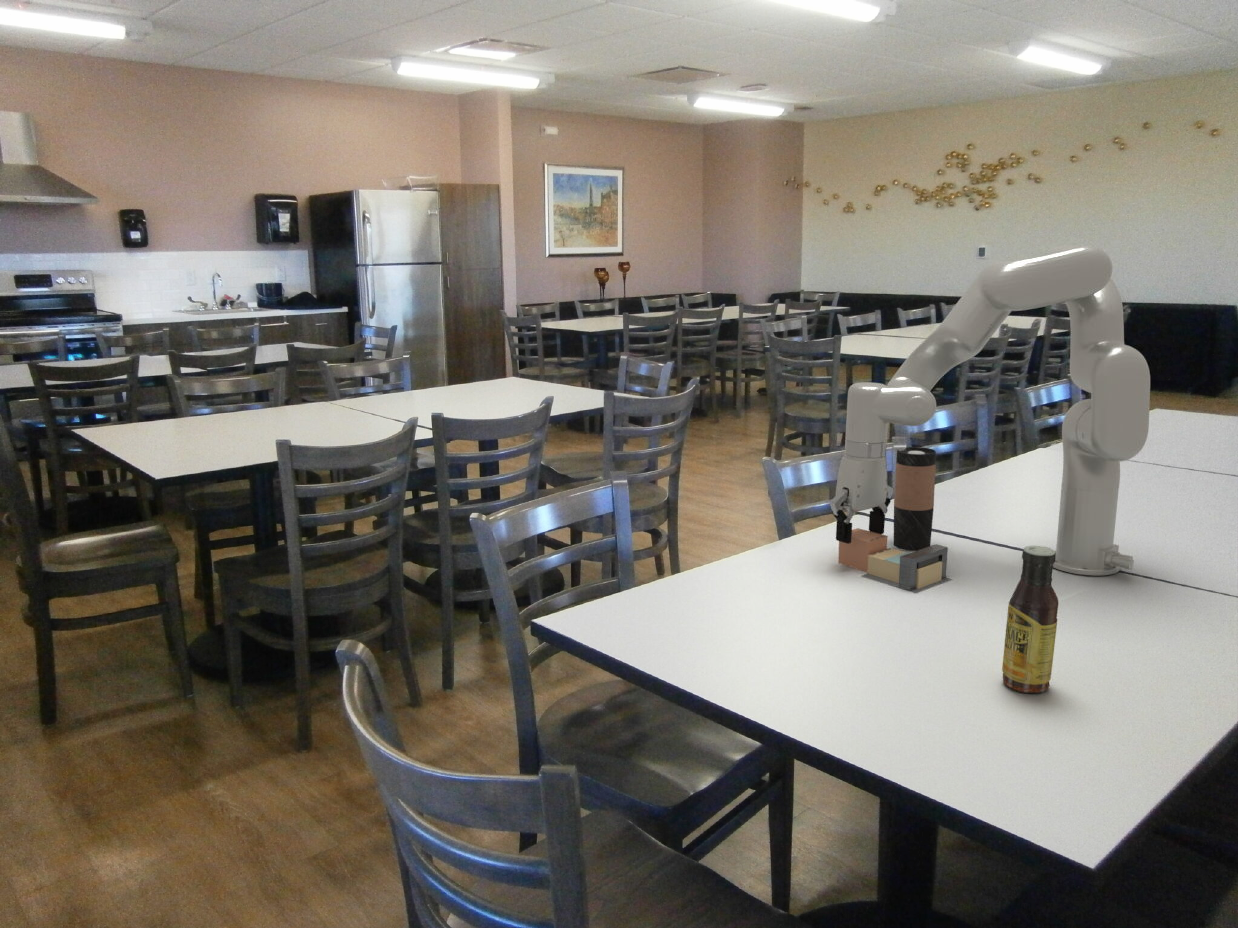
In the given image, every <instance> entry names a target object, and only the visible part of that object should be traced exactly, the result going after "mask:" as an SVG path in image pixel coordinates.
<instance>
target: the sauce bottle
mask: <svg viewBox="0 0 1238 928" xmlns="http://www.w3.org/2000/svg"><path fill="white" fill-rule="evenodd" d="M1055 551H1056V550H1054V549H1052V548H1050V547H1046V546H1041V545H1029V546H1028V545H1027V546H1026V547H1024V548H1023V549H1022V554H1021V559H1022V567H1021V569H1022V570H1021V574H1020V579H1019V581H1018V583H1017V584H1016V587H1015V589H1014V591H1013V593H1012V595H1011V597H1010V599H1009V601H1008V606H1007V617H1006V623H1005V625H1006V626H1005V637H1004V646H1003V656H1002V667H1001V671H1002V681H1003V684H1004V685H1005V686H1007V687H1008V688H1011V689H1012V690H1015V691H1017V692H1018V693H1023V694H1024V693H1027V694H1040V693H1043V692H1045V691H1047V690H1049V687H1050V681H1051V678H1052V670H1053V662H1054V653H1055V644H1056V635H1057V627H1058V626H1057V625H1058V611H1059V599H1058V595H1057V593H1056V592H1055V589H1054V588H1053V586H1052V583H1053V577H1052V576H1053V568H1054V567H1053V564H1054V562H1055V558H1056V552H1055Z"/></svg>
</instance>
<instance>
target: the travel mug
mask: <svg viewBox="0 0 1238 928" xmlns="http://www.w3.org/2000/svg"><path fill="white" fill-rule="evenodd" d="M936 458H937V451H936V450H935V449H933V448H929V447H921V446H907V447H905V448H904V449H903V450H899V448H897V449H896V461H895V479H894V480H895V481H894V494H893V495H894V498H893V546H894V547H895V548H897V549H898V550H902V551H908V552H915V551H918V550H921V549H924V548H927V547H930V546H931V541H932V532H933V531H932V530H933V519H934V508H935V488H936V486H935V485H936V462H937V459H936Z"/></svg>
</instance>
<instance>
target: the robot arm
mask: <svg viewBox="0 0 1238 928" xmlns="http://www.w3.org/2000/svg"><path fill="white" fill-rule="evenodd" d="M1112 275H1113V263H1112V260H1111V258H1110V256H1109V255H1108V254H1107V252H1105V251H1104V250H1103V249H1102V248H1099V247H1097V246H1094V245H1084V244H1083V245H1076V244H1075V245H1071V244H1069V245H1068V244H1066V245H1060V246H1059V245H1058V246H1055V247H1052V248H1050V249H1049V250H1047V251H1046V252H1045V253H1043V255H1042V256H1037V257H1032V258H1027V259H1020V260H1019V259H1018V260H1007V259H1005V260H997V261H993V262H991V263H989V264H988V265H986V266H985V267H984V268H983V269H982V270H981V271H980V272H979V273H978V274H977V276H976V277H975V279H974V280H973V281H972V283H971V284H970V285H969V286H968V288H967V289H966V291H964V293H963V295H962V296H961V297H960V299H959V300H958V301H957V302H956V304H954V306H953V308H952V309H951V310H950V311H949V313H948V314H947V316H946V317H945V318H944V319H943V320H942V322H941V323H940V324H939V326H938V327H936V329H935V330H933V331H932V332H931V333H930V334H929V335H928V336H927V337H926V339H924V341H922V342H921V343H920V344H919V345H918V346H916V348H915V349H914V350H913V351H912V352H911V353H910V355H909V356H907V358H906V359H905V360H904V362H903V363H902V364H901V365H900V367H899V368H898V370H897V371H896V372H895V374H894V375H893V376H892V377H891V379H890V380H889V381H888V383H887V385H886V384H884V383H880V382H867V381H866V382H865V381H863V382H855V383H853V384H852V385H850V386H849V388H848V391H847V402H846V418H845V419H846V422H845V439H844V442H845V443H844V456H842V457H841V460H840V464H839V468H838V474H837V480H836V486H835V496H834V497H833V498H832V499H831V500H830V501H829V507H830V508H831V511H832V512H831V513H832V515H833V517H834V521H836V528H835V530H836V531H835V540H836V541H837V542H839V541H840V542H844V543H847V544H849V543H851V537H852V530H853V523H852V522H851V521H852V518H853V517H854V515H855V513H857V512H863V511H865V510H866V511H867V510H870V511H869V518H868V520H869V521H868V531H871V532H874V533H878V534H882V535H884V534H885V523H886V521H885V520H886V514H887V513H888V510H889V509H888V507H889V506H890V503H891V502H892V501H891V500H892V496H893V495H894V494H893V493H894V492H895V489H894V488H893V487H891V486H890V485H888V463H887V445H888V442H887V441H888V432H889V431H888V428H889V424H894V425H895V424H896V425H901V426H908V427H917V426H922V425H924V424H926V423H928V422H930V420H931V419H933V417H934V416H935V414H936V411H937V401H936V398H935V396H934V394H933V393H932V392H931V390H932V389H933V388H934V386H935V385H936V384H937V383H938V382H939V381H940V380H941V378H942V377H943V376H944V375H946V374H947V373H948V372H949V371H950V370H952V369H953V368H954V367H956V366H958V365H959V364H962V363H964V362H966V361H969V360H970V359H972V358H973V357H975V356H977V355H978V354H979V353H980V352H981V351H982V350H983V348H984V347H985V346H986V344H987V343H988V342H989V341H990V339H991V338H992V336H993V335H994V334H995V333H996V332H997V330H998V329H999V328H1000V326H1001V325H1002V324H1003V322H1004V321H1005V320H1006V319H1007V318H1008V316H1009V315H1010V314H1011V313H1012V312H1017V311H1018V312H1019V311H1027V310H1032V309H1033V310H1034V309H1039V308H1043V307H1047V306H1048V307H1049V306H1052V305H1057V304H1060V303H1064V304H1065V306H1066V307H1067V310H1068V314H1069V325H1070V326H1069V327H1070V344H1069V345H1070V348H1069V349H1070V350H1069V351H1070V352H1069V355H1070V356H1069V374H1070V378H1071V381H1072V382H1073V384H1074V385H1075V386H1076V387H1078V388H1079V389H1081V390H1083V391H1085V392H1087V393H1090V395H1091V396H1090V397H1091V398H1087V399H1082V400H1080V401H1078V402H1076V403H1074V404H1073V405H1072V406H1071V407H1070V408H1069V409H1068V410H1067V412H1066V413H1065V415H1064V418H1063V421H1062V425H1061V437H1062V450H1063V451H1062V452H1063V453H1062V454H1063V458H1062V459H1063V461H1062V463H1063V464H1062V466H1063V467H1062V478H1061V479H1062V480H1061V488H1060V489H1061V490H1060V498H1059V499H1060V500H1059V510H1058V525H1057V535H1056V547H1055V548H1056V549H1055V550H1054V551H1055V552H1056V558H1055V562H1054V564H1053V568H1054V569H1057V570H1059V571H1062V572H1066V573H1070V574H1075V575H1081V576H1095V577H1096V576H1109V575H1114V574H1117V573H1118V572H1120V571H1121V568H1123V569H1126V570H1132V569H1133V567H1134V565H1135V561H1134V557H1133V556H1132V555H1129V554H1122V553H1121V552H1120V551H1119V549H1120V545H1119V544H1118V545H1117V544H1114V540H1115V531H1116V520H1117V511H1118V501H1119V499H1118V498H1119V490H1120V483H1121V481H1120V480H1121V462H1126V461H1129V460H1131V459H1132V458H1134V457H1136V456H1137V455H1138V454H1139V453H1141V451H1142V449H1144V447H1145V445H1146V443H1147V439H1148V435H1149V428H1150V402H1151V401H1150V400H1151V374H1150V367H1149V365H1148V362H1147V360H1146V358H1145V356H1144V355H1143V354H1142V353H1141V352H1140V351H1139V350H1137V349H1136V348H1134V347H1132V346H1130V345H1127V344H1125V330H1124V329H1125V327H1124V306H1123V301H1122V297H1121V294H1120V291H1119V289H1118V287H1117V285H1116V284H1115V282H1114V280H1113V279H1112V278H1111V277H1112ZM846 511H847V512H846ZM845 512H846V513H845Z"/></svg>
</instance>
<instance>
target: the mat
mask: <svg viewBox="0 0 1238 928" xmlns="http://www.w3.org/2000/svg"><path fill="white" fill-rule="evenodd" d="M861 577H862V578H866V579H868V580H872V581H875V582H878V583H882V584H884V585H887V586H891V587H895V588H897V589H901V590H902V591H903V590H904V591H907V592H910V593H913V594H918V593H920V592H924V591H926V590H929V589H932V588H934V587H937V586H939V585H942V584H945V583H948V582H949V581H953V578H950V577H947V576H946V578H943V579H941V581H938V582H935V583H933V584H930V585H927V586H925V587H922V588H919V589H914V590H912V591H908V590H905V589H902V588H899V583H897V582H894V581H890V580H887V579H884V578H881V577H877V576H874V575H871V574H868V572H866V573H865V574H862V575H861Z"/></svg>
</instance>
